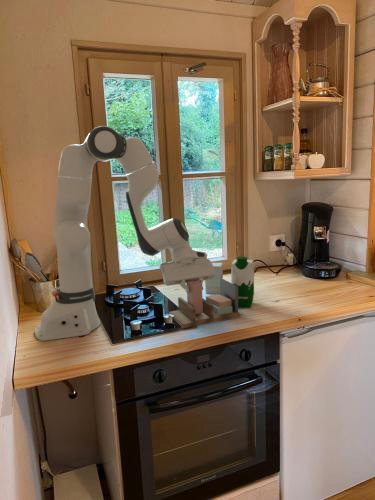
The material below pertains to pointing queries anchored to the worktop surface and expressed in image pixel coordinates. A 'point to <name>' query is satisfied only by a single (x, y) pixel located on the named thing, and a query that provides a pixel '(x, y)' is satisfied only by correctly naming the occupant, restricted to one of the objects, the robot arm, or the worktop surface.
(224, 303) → the toppled books
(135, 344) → the worktop surface
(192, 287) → the rose book
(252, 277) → the milk carton
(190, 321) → the walnut book rack
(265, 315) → the worktop surface
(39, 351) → the worktop surface
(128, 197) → the robot arm
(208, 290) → the supplement box
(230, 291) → the dark metal bookend
